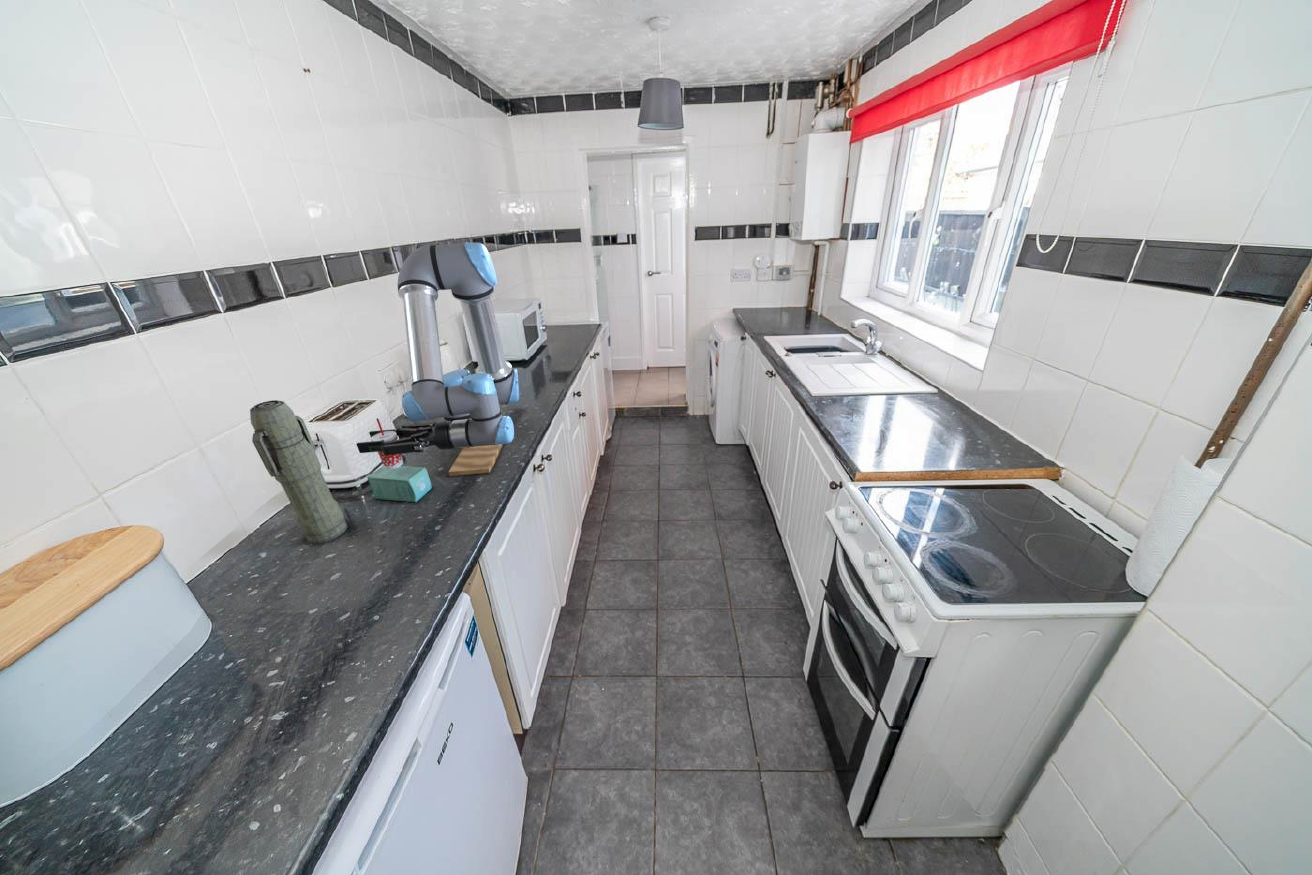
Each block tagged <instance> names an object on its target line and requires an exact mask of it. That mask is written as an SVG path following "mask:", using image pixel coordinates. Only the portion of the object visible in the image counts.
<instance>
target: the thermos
mask: <svg viewBox="0 0 1312 875" xmlns="http://www.w3.org/2000/svg"><path fill="white" fill-rule="evenodd" d="M249 414H250V424H251V425H252V428H253V430H254V431H253V434H252V439H251V442H252V444H253V446H254V448H255V450H256V452H257V453H258V456H259V457H260V460H261V461H262V463H263V465H264V467H265V469H266V471H267V472H268V474H269V476H270V477H274V480H275V481H276V482H278V483H279V484H280V485H281V487H282V489H283V492H284V493H285V495H286V497H287V499H288V501H289V503H290V505H291V507H292V510H293V511H294V513H295V521H296V523H297V525H298V527H299V529H300V532H301V533H302V534H303V535H304V536H305V538H306V541H307V542H308V543H310V544H315V545H316V544H322V543H323V544H324V543H326V542H330V541H332V540H334V539H336V538H338V537H339V536H341V535H342V534H344V533H345V532H346V531H347V528H348V523H347V521H346V520H345V515H344V513H343V510H342V509H341V506H340V504H339V502H337V501H336V500H335V499H334V497H333V495H332V493H331V491H330V489H329V486H328V483H327V482H326V480H325V477H324V475H323V473H322V470H321V469H322V464H321V462H320V460H319V459H318V456H317V454H316V450H317V448H316V445H315V443H314V441H313V439H312V437H311V435H310V432H309V430H308V428H307V425H306V423H305V421H304V419H303V418H302V417H300V416H299V415H295V413H294V411H293V410H292V408H291V407H290V406H289V405H288V404H287V403H286V402H285V401H283V400H277V399H275V400H267V401H263V402H260V403H257V404H255V405H253V407H251V408H250V409H249Z"/></svg>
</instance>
